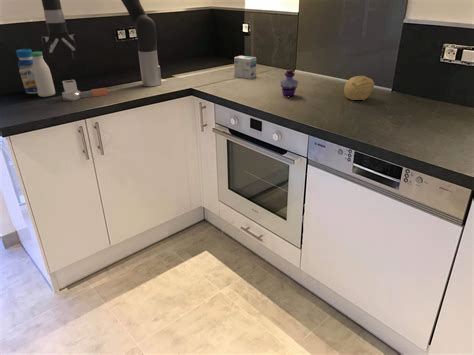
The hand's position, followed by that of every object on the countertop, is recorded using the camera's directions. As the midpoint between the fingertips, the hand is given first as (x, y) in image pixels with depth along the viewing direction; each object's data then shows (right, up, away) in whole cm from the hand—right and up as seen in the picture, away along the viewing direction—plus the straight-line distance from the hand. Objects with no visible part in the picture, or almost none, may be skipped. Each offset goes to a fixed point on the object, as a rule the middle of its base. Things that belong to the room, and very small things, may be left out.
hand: (64, 60), depth 170 cm
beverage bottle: (-24, -10, +19) cm, 32 cm away
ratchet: (+5, -14, +11) cm, 19 cm away
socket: (0, -13, +7) cm, 15 cm away
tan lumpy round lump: (+133, -17, +5) cm, 134 cm away
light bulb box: (+82, +4, +43) cm, 93 cm away
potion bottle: (+102, -14, +10) cm, 103 cm away
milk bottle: (-15, -13, +15) cm, 24 cm away
